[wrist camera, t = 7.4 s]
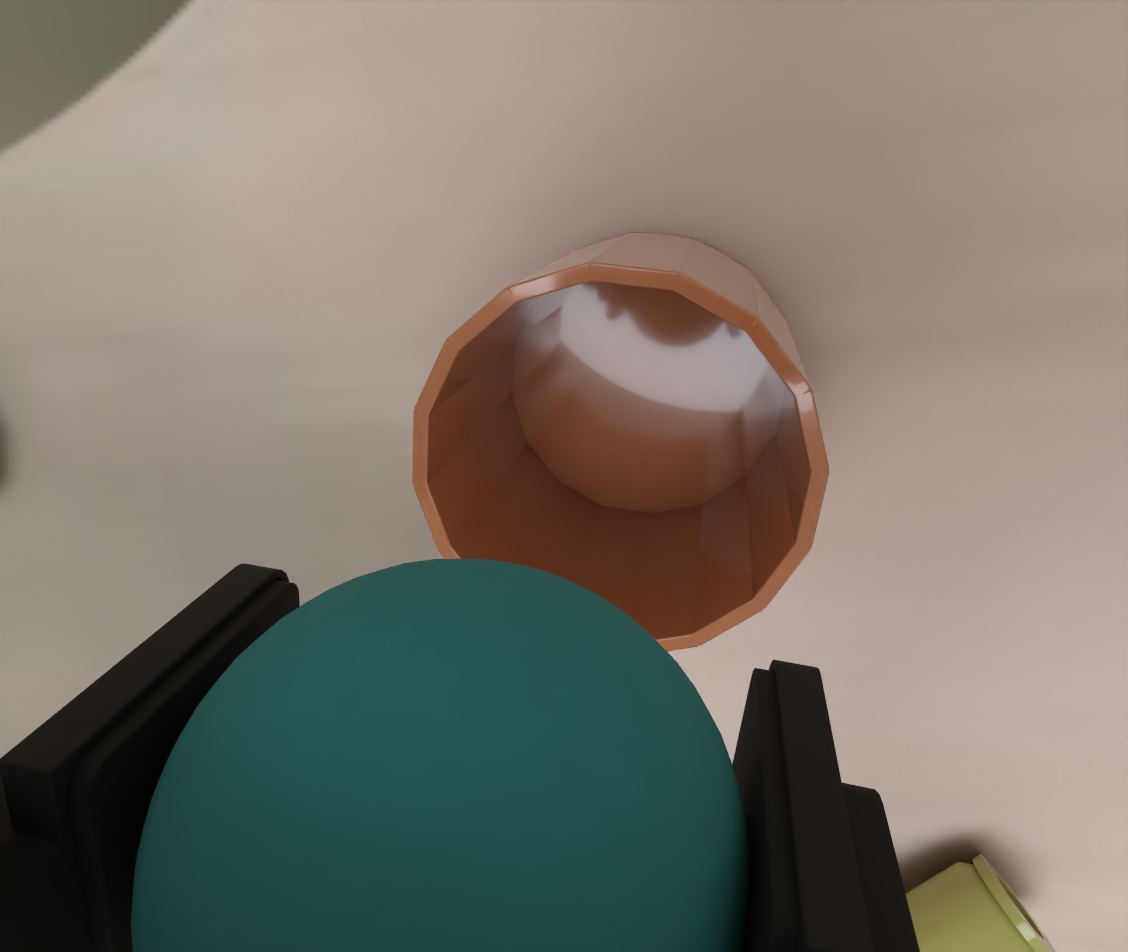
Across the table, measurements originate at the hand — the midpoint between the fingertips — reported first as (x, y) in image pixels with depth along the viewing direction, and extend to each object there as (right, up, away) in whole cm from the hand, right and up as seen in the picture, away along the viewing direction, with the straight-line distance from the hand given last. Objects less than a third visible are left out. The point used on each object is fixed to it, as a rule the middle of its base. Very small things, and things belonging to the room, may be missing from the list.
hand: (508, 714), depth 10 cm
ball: (0, -1, -2) cm, 2 cm away
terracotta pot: (+4, +6, +17) cm, 18 cm away
